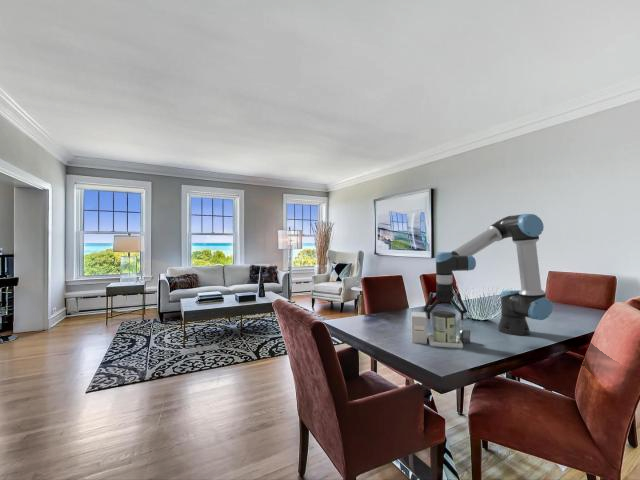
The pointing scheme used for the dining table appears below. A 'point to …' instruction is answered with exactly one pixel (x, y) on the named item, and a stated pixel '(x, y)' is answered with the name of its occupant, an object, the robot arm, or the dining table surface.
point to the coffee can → (444, 327)
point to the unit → (419, 327)
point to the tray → (442, 344)
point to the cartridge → (464, 336)
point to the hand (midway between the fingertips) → (445, 326)
